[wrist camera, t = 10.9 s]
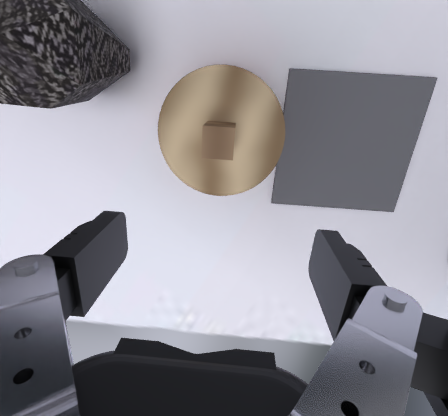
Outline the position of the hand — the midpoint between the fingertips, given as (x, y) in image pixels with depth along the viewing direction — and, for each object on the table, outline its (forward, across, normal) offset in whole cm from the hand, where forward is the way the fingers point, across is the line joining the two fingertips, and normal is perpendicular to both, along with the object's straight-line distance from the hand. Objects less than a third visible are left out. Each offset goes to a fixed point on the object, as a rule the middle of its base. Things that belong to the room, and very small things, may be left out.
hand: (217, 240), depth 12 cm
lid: (+19, +1, -2) cm, 19 cm away
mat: (+24, -14, -1) cm, 28 cm away
